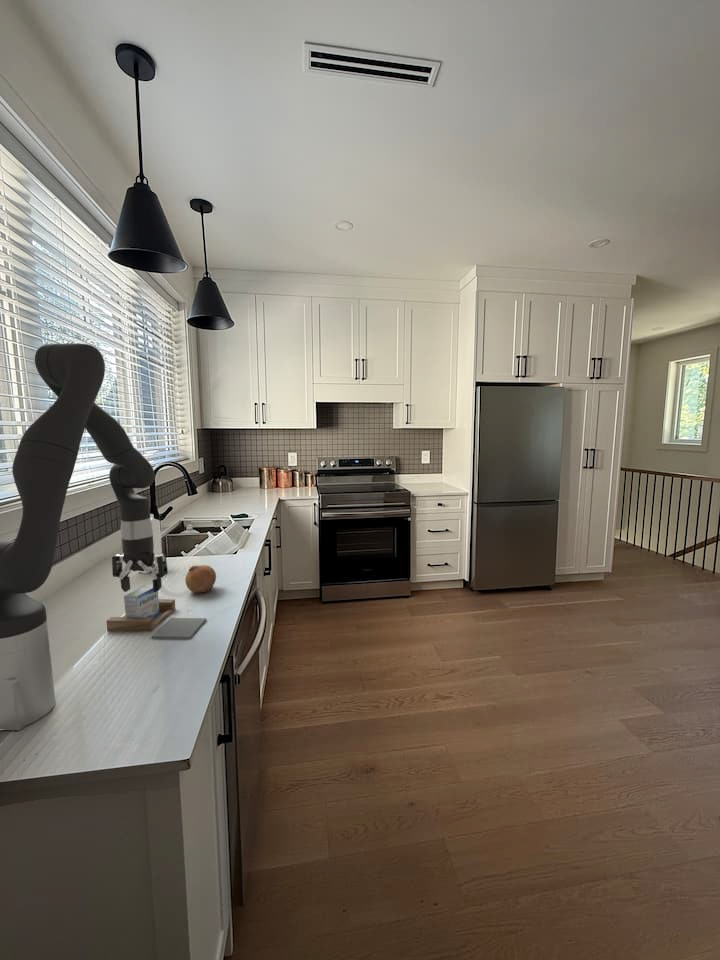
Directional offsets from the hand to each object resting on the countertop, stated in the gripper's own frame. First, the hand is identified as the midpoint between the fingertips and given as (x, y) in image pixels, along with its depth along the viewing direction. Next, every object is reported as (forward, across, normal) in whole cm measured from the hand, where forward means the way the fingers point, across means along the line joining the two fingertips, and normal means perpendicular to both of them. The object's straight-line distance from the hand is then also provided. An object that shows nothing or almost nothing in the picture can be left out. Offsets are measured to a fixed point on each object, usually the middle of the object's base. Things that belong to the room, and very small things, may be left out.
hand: (141, 590), depth 110 cm
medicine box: (+9, 0, 0) cm, 9 cm away
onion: (+9, +8, +20) cm, 23 cm away
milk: (+9, -20, +39) cm, 44 cm away
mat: (+8, +13, -5) cm, 16 cm away
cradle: (+8, 0, 0) cm, 8 cm away
